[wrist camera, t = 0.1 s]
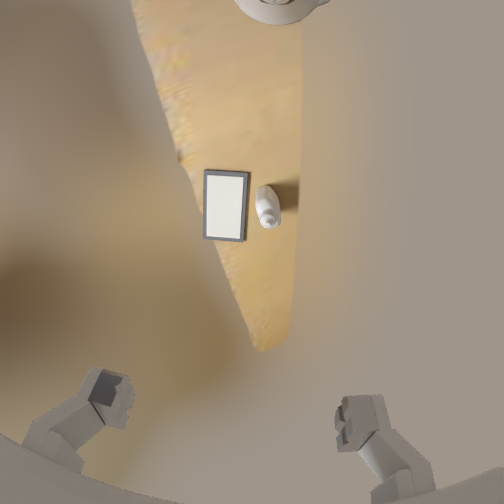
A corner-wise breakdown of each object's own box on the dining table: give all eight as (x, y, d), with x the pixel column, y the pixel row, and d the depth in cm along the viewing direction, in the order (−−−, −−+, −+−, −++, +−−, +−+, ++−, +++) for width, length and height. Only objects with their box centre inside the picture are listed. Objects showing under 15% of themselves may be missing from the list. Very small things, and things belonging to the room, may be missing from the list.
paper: (207, 174, 54) (207, 175, 54) (243, 177, 54) (243, 177, 54) (206, 235, 60) (206, 236, 60) (239, 238, 60) (239, 238, 60)
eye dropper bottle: (281, 185, 55) (283, 208, 44) (279, 213, 57) (281, 242, 47) (257, 184, 55) (253, 207, 44) (256, 212, 58) (253, 241, 47)
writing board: (204, 169, 54) (203, 170, 53) (247, 172, 54) (247, 173, 53) (203, 237, 61) (203, 238, 60) (243, 240, 61) (243, 242, 60)
